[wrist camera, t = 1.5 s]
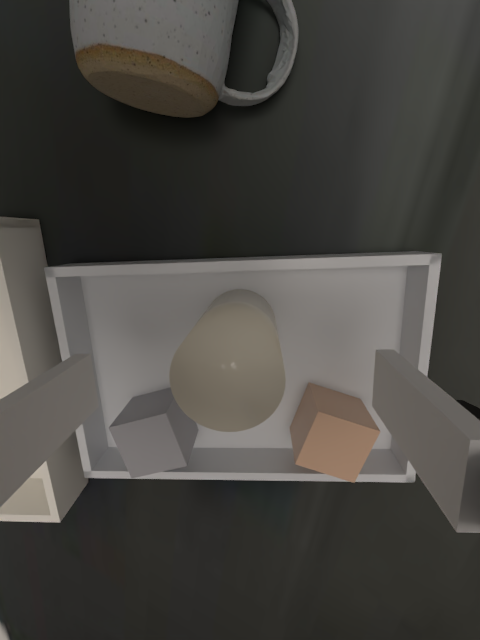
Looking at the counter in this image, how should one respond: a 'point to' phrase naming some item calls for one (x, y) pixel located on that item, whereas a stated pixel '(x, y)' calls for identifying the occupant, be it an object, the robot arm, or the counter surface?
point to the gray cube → (154, 434)
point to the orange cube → (332, 433)
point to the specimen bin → (32, 367)
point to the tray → (294, 335)
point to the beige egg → (230, 364)
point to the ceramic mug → (170, 52)
